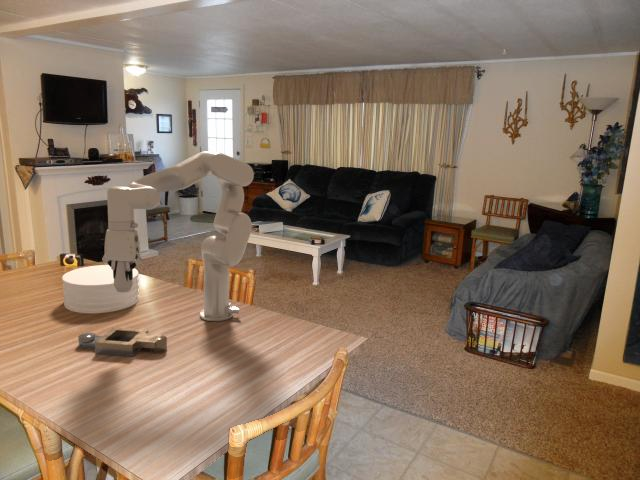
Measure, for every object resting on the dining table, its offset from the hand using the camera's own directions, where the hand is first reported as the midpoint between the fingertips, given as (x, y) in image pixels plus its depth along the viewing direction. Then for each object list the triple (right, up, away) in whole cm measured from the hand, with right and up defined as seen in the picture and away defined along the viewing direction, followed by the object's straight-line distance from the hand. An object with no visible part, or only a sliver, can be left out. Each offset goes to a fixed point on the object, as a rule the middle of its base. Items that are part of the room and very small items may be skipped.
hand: (123, 281), depth 153 cm
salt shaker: (0, -3, +1) cm, 3 cm away
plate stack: (-26, -12, +41) cm, 50 cm away
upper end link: (+4, -22, +1) cm, 22 cm away
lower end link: (-5, -22, +2) cm, 22 cm away
